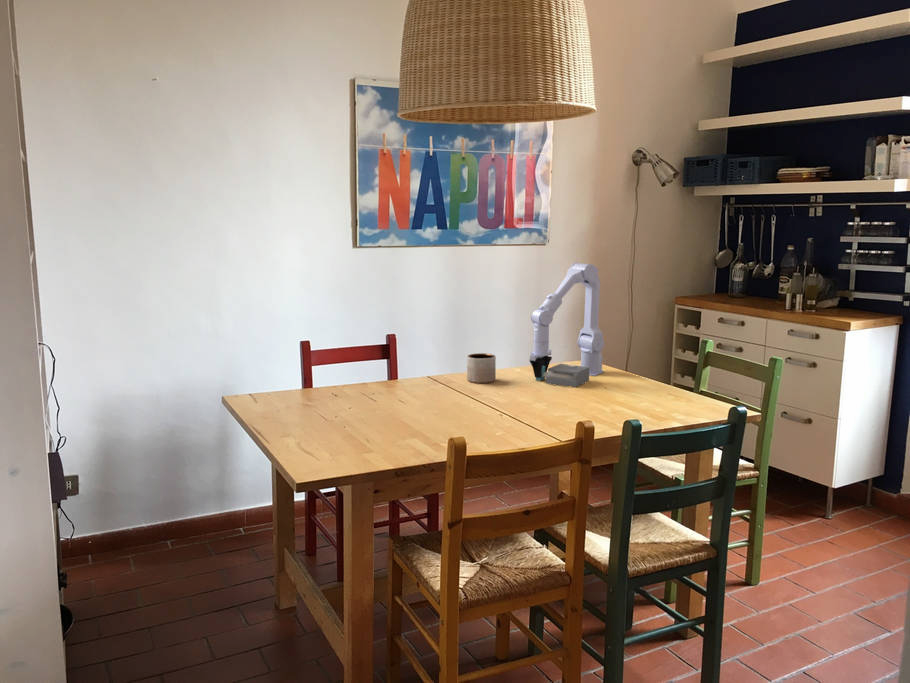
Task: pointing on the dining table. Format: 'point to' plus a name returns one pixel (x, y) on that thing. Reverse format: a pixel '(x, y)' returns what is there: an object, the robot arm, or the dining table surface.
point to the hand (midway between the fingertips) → (540, 376)
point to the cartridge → (554, 375)
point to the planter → (481, 368)
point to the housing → (579, 373)
